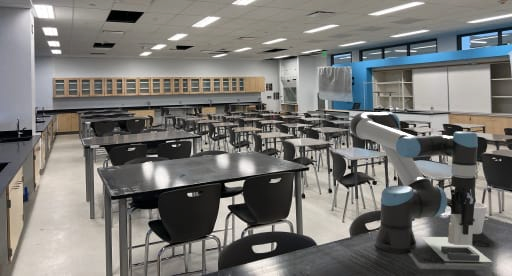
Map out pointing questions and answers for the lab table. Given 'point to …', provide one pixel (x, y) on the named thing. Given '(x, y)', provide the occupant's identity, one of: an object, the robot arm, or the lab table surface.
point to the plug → (458, 230)
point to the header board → (456, 252)
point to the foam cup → (479, 217)
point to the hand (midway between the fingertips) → (460, 239)
